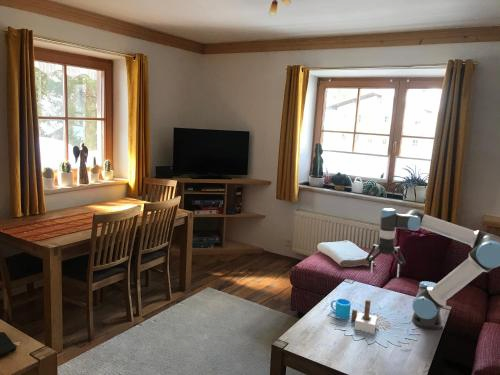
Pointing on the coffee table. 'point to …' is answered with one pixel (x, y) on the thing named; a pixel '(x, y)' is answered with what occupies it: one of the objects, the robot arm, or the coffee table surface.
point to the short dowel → (354, 315)
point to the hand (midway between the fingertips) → (384, 274)
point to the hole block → (365, 323)
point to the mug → (342, 308)
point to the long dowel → (367, 309)
